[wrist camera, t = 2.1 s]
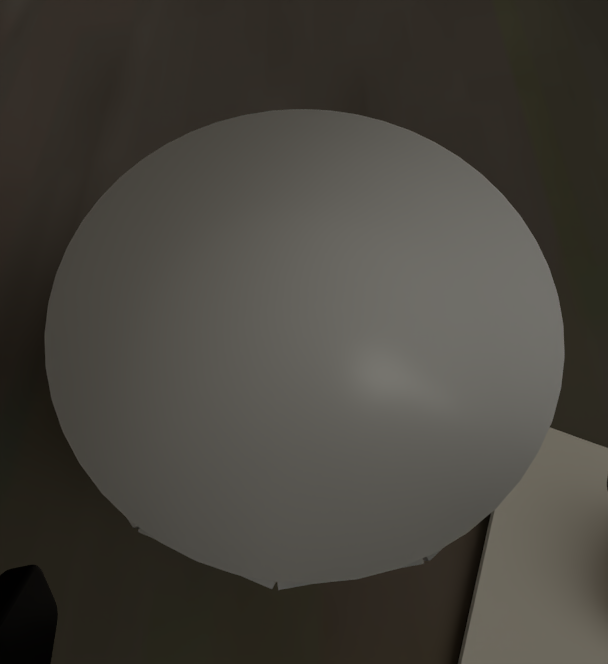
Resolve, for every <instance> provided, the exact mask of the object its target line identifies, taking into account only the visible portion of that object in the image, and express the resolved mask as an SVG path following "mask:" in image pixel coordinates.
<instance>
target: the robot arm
mask: <svg viewBox="0 0 608 664" xmlns="http://www.w3.org/2000/svg"><path fill="white" fill-rule="evenodd" d="M607 490H608V476H607ZM57 615H58V613H57V606H56V602H55V600H54V597H53V595H52V593H51V590H50V588H49V586H48V584H47V581H46V579H45V577H44V574H43V572H42V570H41V569H40V568H39V567H38V566H37V565H27V566H23V567H18V568H13V569H10V570H7V571H5V572H4V573H3V574H1V575H0V664H50V663H51V657H52V651H53V644H54V638H55V632H56V625H57Z"/></svg>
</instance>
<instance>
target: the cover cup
mask: <svg viewBox="0 0 608 664" xmlns="http://www.w3.org/2000/svg"><path fill="white" fill-rule="evenodd" d="M563 365H564V329H563V321H562V315H561V309H560V304H559V298H558V294H557V291H556V288H555V285H554V282H553V278H552V275H551V272H550V269H549V266H548V264H547V262H546V260H545V258H544V256H543V254H542V252H541V250H540V248H539V245H538V243H537V241H536V239H535V238H534V236H533V235H532V233H531V232H530V230H529V229H528V227H527V225H526V224H525V222H524V221H523V219H522V218H521V216H520V215H519V214H518V212H517V211H516V210H515V209H514V208H513V206H512V205H511V204H510V203H509V202H508V200H507V199H506V198H505V197H504V196H503V194H502V193H501V192H500V191H499V190H498V189H497V188H496V187H494V186H493V185H492V184H491V183H490V182H489V181H488V180H487V179H486V178H485V177H484V176H483V175H482V174H481V173H479V172H478V171H477V170H476V169H474V168H473V167H472V166H470V165H469V164H468V163H466V162H465V161H464V160H462V159H461V158H460V157H458V156H457V155H455V154H453V153H452V152H450V151H448V150H447V149H445V148H444V147H442V146H440V145H439V144H437V143H435V142H433V141H431V140H429V139H427V138H425V137H423V136H421V135H418V134H416V133H414V132H412V131H410V130H407V129H405V128H402V127H399V126H396V125H393V124H390V123H388V122H385V121H381V120H377V119H373V118H369V117H365V116H361V115H357V114H351V113H343V112H336V111H329V110H309V109H294V110H276V111H267V112H261V113H254V114H248V115H243V116H239V117H235V118H231V119H227V120H223V121H220V122H216V123H214V124H211V125H208V126H205V127H203V128H200V129H197V130H195V131H192V132H190V133H188V134H186V135H184V136H182V137H180V138H178V139H176V140H174V141H172V142H170V143H168V144H166V145H164V146H163V147H161V148H159V149H158V150H156V151H155V152H153V153H152V154H150V155H149V156H147V157H145V158H144V159H142V160H141V161H140V162H139V163H137V164H136V165H135V166H134V167H132V168H131V169H130V170H129V171H127V172H126V173H125V174H124V175H122V176H121V177H120V178H119V179H118V180H117V181H116V182H115V183H114V184H113V185H112V186H111V187H110V188H109V189H108V190H107V191H106V192H105V193H104V194H103V195H102V196H101V197H100V199H99V200H98V201H97V202H96V204H95V205H94V206H93V208H92V209H91V210H90V212H89V213H88V214H87V216H86V217H85V218H84V219H83V221H82V222H81V224H80V226H79V227H78V229H77V231H76V233H75V234H74V236H73V238H72V240H71V241H70V243H69V245H68V246H67V249H66V251H65V254H64V256H63V258H62V261H61V263H60V266H59V268H58V270H57V273H56V276H55V279H54V283H53V287H52V291H51V295H50V298H49V302H48V309H47V318H46V326H45V366H46V372H47V378H48V383H49V389H50V394H51V399H52V402H53V405H54V408H55V411H56V414H57V417H58V420H59V423H60V426H61V428H62V431H63V433H64V435H65V437H66V439H67V441H68V443H69V445H70V447H71V449H72V450H73V452H74V454H75V456H76V458H77V460H78V462H79V464H80V465H81V466H82V468H83V469H84V470H85V472H86V473H87V474H88V476H89V477H90V478H91V480H92V481H93V482H94V484H95V485H96V486H97V488H98V489H99V490H100V492H101V493H102V494H103V495H104V496H105V497H106V498H107V499H108V500H109V501H110V502H111V503H112V504H113V505H114V506H115V507H116V508H117V509H118V510H119V511H120V512H121V513H122V514H123V515H124V516H125V517H126V518H127V519H128V521H129V522H130V524H131V525H132V527H133V528H137V529H139V530H138V532H139V533H142V534H144V535H146V536H149V537H151V538H154V539H156V540H157V541H159V542H160V543H162V544H164V545H166V546H168V547H170V548H172V549H174V550H176V551H178V552H179V553H181V554H183V555H185V556H187V557H189V558H191V559H193V560H195V561H197V562H200V563H203V564H206V565H209V566H212V567H215V568H218V569H221V570H224V571H226V572H229V573H232V574H236V575H240V576H242V577H245V578H247V579H249V580H252V581H254V582H256V583H259V584H261V585H263V586H266V587H268V588H270V589H273V587H274V585H275V583H276V582H277V583H278V590H281V589H287V588H292V587H298V586H303V585H309V584H315V583H325V582H335V581H344V580H354V579H360V578H364V577H368V576H371V575H375V574H379V573H383V572H387V571H391V570H395V569H398V568H403V567H409V566H414V565H420V564H424V561H430V560H431V559H432V558H433V557H434V556H435V555H436V554H437V553H438V552H439V551H440V550H441V549H442V548H443V547H445V546H447V545H448V544H450V543H452V542H453V541H455V540H456V539H458V538H460V537H461V536H463V535H465V534H466V533H468V532H469V531H470V530H471V529H472V528H474V527H475V526H476V525H477V524H478V523H480V522H481V521H482V520H483V519H484V518H485V517H487V516H488V515H489V514H490V513H491V512H493V511H494V510H495V509H496V508H497V507H498V506H499V505H500V503H501V502H502V501H503V500H504V499H505V498H506V497H507V495H508V494H509V493H510V492H511V491H512V490H513V489H514V487H515V486H516V485H517V484H518V483H519V482H520V480H521V479H522V477H523V476H524V474H525V472H526V471H527V469H528V468H529V466H530V465H531V463H532V461H533V460H534V458H535V457H536V455H537V454H538V452H539V450H540V448H541V445H542V443H543V441H544V438H545V436H546V434H547V432H548V429H549V427H550V425H551V422H552V420H553V416H554V413H555V409H556V405H557V401H558V398H559V394H560V390H561V383H562V374H563ZM423 560H424V561H423Z"/></svg>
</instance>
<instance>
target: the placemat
mask: <svg viewBox="0 0 608 664" xmlns="http://www.w3.org/2000/svg"><path fill="white" fill-rule="evenodd" d="M607 476H608V448H606V447H603V446H600V445H597V444H594V443H592V442H589V441H586V440H583V439H581V438H578V437H575V436H572V435H569V434H567V433H564V432H561V431H558V430H556V429H553V428H550V427H549V429H548V432H547V434H546V436H545V438H544V441H543V443H542V445H541V448H540V450H539V452H538V454H537V455H536V457H535V458H534V460H533V461H532V463H531V465H530V466H529V468H528V469H527V471H526V472H525V474H524V476H523V477H522V479H521V480H520V482H519V483H518V484H517V485H516V486H515V487H514V489H513V490H512V491H511V492H510V493H509V494H508V495H507V497H506V498H505V499H504V500H503V501H502V502H501V503H500V505H499V506H498V507H497V508H496V509H495V510H494V511H493V512H491V516H490V520H489V525H488V529H487V534H486V538H485V543H484V547H483V552H482V556H481V561H480V565H479V570H478V574H477V579H476V583H475V588H474V592H473V597H472V602H471V606H470V611H469V615H468V620H467V624H466V629H465V633H464V638H463V642H462V647H461V651H460V656H459V660H458V664H608V490H607Z"/></svg>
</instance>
